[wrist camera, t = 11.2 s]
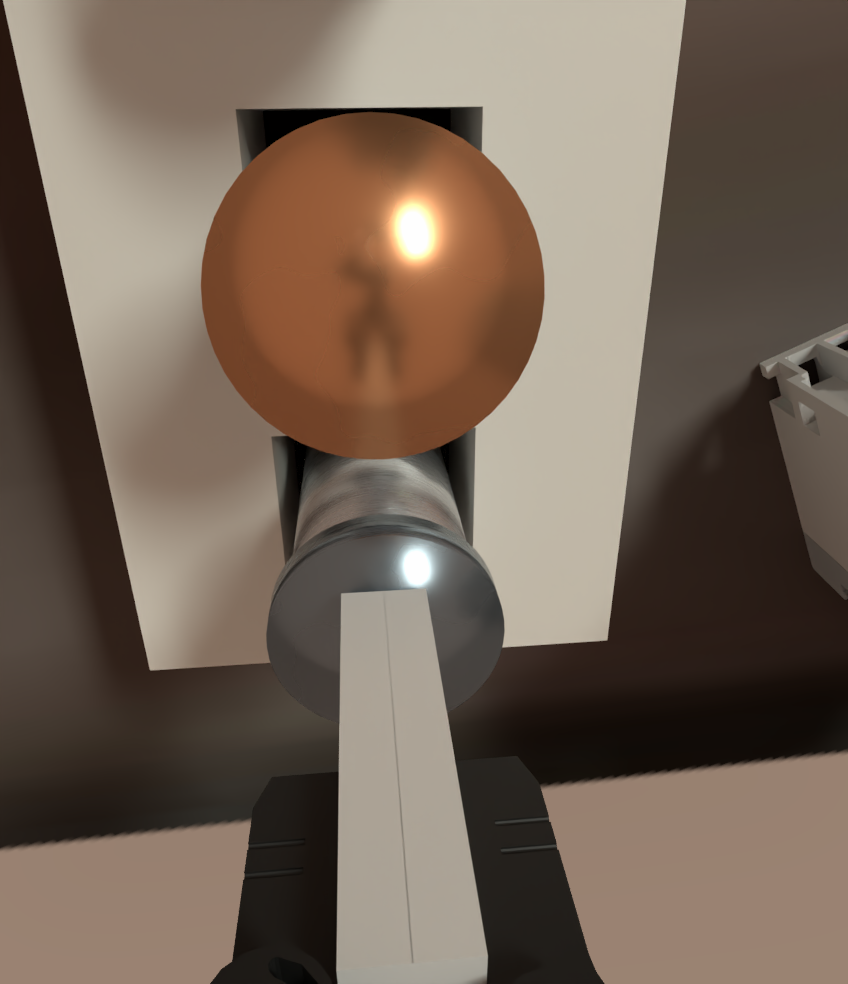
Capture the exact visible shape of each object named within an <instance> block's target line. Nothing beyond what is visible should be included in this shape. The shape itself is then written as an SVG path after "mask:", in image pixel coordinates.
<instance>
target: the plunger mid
mask: <svg viewBox="0 0 848 984" xmlns="http://www.w3.org/2000/svg"><path fill="white" fill-rule="evenodd" d="M201 297H202V309H203V314H204V319H205V324H206V328H207V332H208V335H209V338H210V341H211V344H212V347H213V350H214V352H215V354H216V356H217V358H218V360H219V363H220V365H221V367H222V369H223V371H224V373H225V374H226V376H227V377H228V379H229V380H230V382H231V383H232V385H233V386H234V388H235V389H236V391H237V392H238V393H239V394H240V395H241V396H242V398H243V399H244V400H245V401H246V402H247V403H248V405H249V406H250V407H251V408H252V409H253V410H254V411H256V412H257V413H258V414H259V415H260V416H261V417H262V418H263V419H264V420H265V421H267V422H268V423H269V424H271V425H272V426H274V427H275V428H276V429H278V430H279V431H281V432H282V433H283V434H285V435H287V436H289V437H291V438H293V439H294V440H296V441H298V442H300V443H302V444H304V445H307V446H309V447H312V448H314V449H317V450H320V451H322V452H326V453H330V454H334V455H338V456H342V457H349V458H356V459H380V460H383V459H392V458H402V457H406V456H411V455H415V454H420V453H423V452H426V451H429V450H432V449H434V448H437V447H440V446H442V445H444V444H446V443H448V442H450V441H452V440H454V439H456V438H458V437H460V436H462V435H463V434H465V433H466V432H468V431H469V430H471V429H472V428H474V427H475V426H477V425H478V424H479V423H480V422H481V421H483V420H484V419H485V418H486V417H487V416H488V415H490V414H491V413H492V412H493V411H494V410H495V409H496V408H497V406H498V405H499V404H500V403H501V402H502V401H503V400H504V399H505V398H506V397H507V395H508V394H509V392H510V391H511V390H512V388H513V387H514V385H515V384H516V383H517V381H518V380H519V378H520V376H521V374H522V372H523V371H524V369H525V367H526V365H527V363H528V361H529V359H530V356H531V354H532V351H533V349H534V346H535V344H536V341H537V337H538V333H539V329H540V325H541V321H542V315H543V307H544V299H545V287H544V269H543V261H542V253H541V250H540V246H539V242H538V238H537V235H536V231H535V229H534V226H533V224H532V221H531V219H530V216H529V214H528V212H527V209H526V208H525V206H524V204H523V202H522V201H521V199H520V197H519V196H518V194H517V192H516V190H515V189H514V187H513V186H512V185H511V184H510V182H509V181H508V180H507V178H506V177H505V176H504V175H503V173H502V172H501V171H500V170H499V169H498V168H497V167H496V166H495V165H494V164H493V163H492V162H491V161H490V160H489V159H488V158H487V157H486V156H485V155H484V154H483V153H482V152H480V151H479V150H478V149H476V148H475V147H474V146H472V145H471V144H470V143H468V142H467V141H465V140H464V139H463V138H461V137H459V136H457V135H455V134H453V133H451V132H450V131H448V130H446V129H444V128H442V127H440V126H437V125H434V124H432V123H429V122H426V121H423V120H421V119H418V118H413V117H408V116H404V115H399V114H394V113H378V112H362V113H350V114H342V115H338V116H334V117H330V118H325V119H321V120H318V121H316V122H313V123H311V124H308V125H306V126H303V127H300V128H298V129H296V130H294V131H292V132H291V133H289V134H287V135H286V136H284V137H282V138H280V139H279V140H277V141H275V142H274V143H273V144H272V145H270V146H269V147H268V148H266V149H265V150H264V151H263V152H261V153H260V154H259V155H258V156H256V157H255V158H254V160H253V161H252V162H251V163H250V164H249V165H248V166H247V167H246V168H245V169H244V170H243V171H242V172H241V173H240V174H239V176H238V177H237V179H236V180H235V181H234V183H233V184H232V186H231V187H230V189H229V190H228V191H227V193H226V194H225V196H224V198H223V200H222V202H221V204H220V206H219V208H218V210H217V212H216V214H215V216H214V219H213V222H212V225H211V227H210V230H209V233H208V236H207V239H206V244H205V250H204V255H203V260H202V271H201Z"/></svg>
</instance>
